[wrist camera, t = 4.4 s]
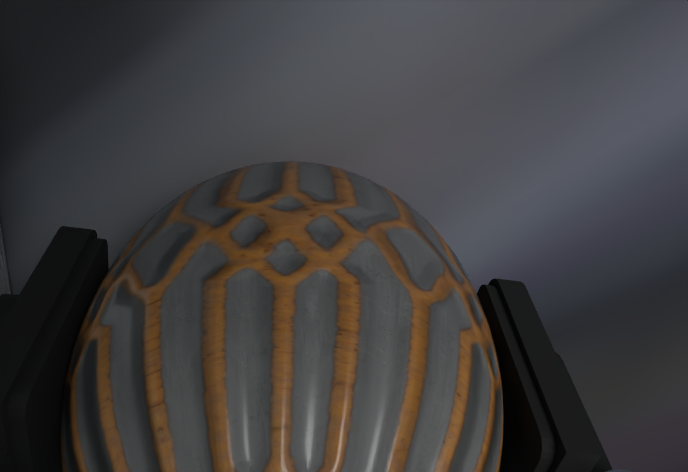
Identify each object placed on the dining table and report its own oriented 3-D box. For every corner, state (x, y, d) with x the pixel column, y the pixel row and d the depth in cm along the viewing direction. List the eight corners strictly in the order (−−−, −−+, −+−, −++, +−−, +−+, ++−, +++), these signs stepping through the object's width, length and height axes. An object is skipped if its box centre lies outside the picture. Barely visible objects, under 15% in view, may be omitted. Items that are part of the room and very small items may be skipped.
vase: (356, 38, 11) (449, 493, 4) (500, 296, 14) (692, 786, 7) (58, 210, 13) (-281, 753, 5) (252, 404, 16) (205, 888, 9)
